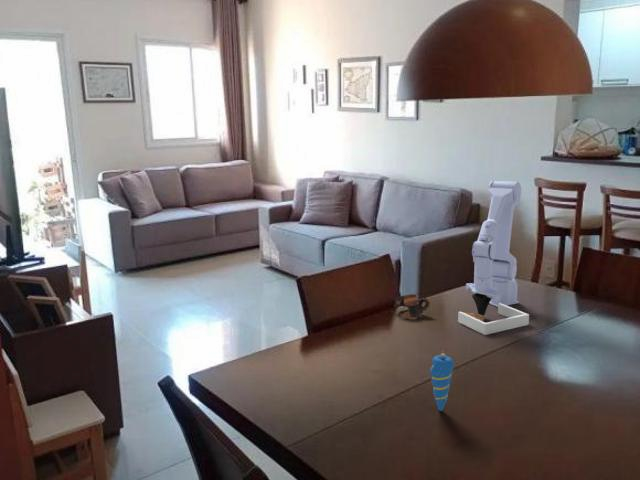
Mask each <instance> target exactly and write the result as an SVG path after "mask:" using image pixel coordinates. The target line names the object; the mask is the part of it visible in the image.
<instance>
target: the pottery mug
mask: <svg viewBox="0 0 640 480" xmlns="http://www.w3.org/2000/svg"><path fill="white" fill-rule="evenodd" d="M394 299H395V300H394V301H395V303H394V308H396V307H406V308H407V309H408V311H404V312H403V316H404V319H405V320H406V319H411V318H415V319H416V318H421V314H423V313H424V311H426V310H428V308H429V307H430V304H431V303H430V301H429V299H428V298H426V297H421V298H418V297H417V294H415V293H411V294H410V293H409V294H405V295H400V296H397V297H395V298H394ZM423 303H425V305H424V306H423Z"/></svg>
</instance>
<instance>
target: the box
mask: <svg viewBox="0 0 640 480" xmlns="http://www.w3.org/2000/svg"><path fill="white" fill-rule="evenodd" d="M457 313H458V314H457V316H458V317H457V322H458V323H460V324H461V325H464V326H465V327H468V328H470V329H472V330H474V331H476V332H478V333H480V334H482V335H484V336H486V335H491V334H495V333H500V332H504V331H507V330H512V329H515V328H516V329H517V328H521V327H524V326H525V327H526V326H528V325H529V323H530V321H529V320H530V314H529V313H526V312H523V311H521V310H518V309H517V308H513V307H512V306H510V305H504V304H502V303H499V304H498V307H497V314H498V315H501V316H503V317H505V318H501V319H496V320H492V321H488V322H484V320H483V321H480V320H478V319H476V318H474V317H472V316H470V315H467V314H465V313H466V312H462V311H458V312H457Z"/></svg>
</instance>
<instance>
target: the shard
mask: <svg viewBox="0 0 640 480" xmlns="http://www.w3.org/2000/svg"><path fill="white" fill-rule="evenodd" d="M464 313H465V314H467V315H470V316H472V317H474V318H476V319H478V320H480V321H483V322H484V320H485V315H480V314H478V313H471V312H464Z"/></svg>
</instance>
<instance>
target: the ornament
mask: <svg viewBox="0 0 640 480" xmlns="http://www.w3.org/2000/svg"><path fill="white" fill-rule="evenodd" d="M431 364H432V366H430V369H429V370H430V374H431V384H432V387H433V388H432V393H433V396H434V399H435V402H436V406H437V409H438V411H439V412H442V411H443V410H444V407H445V405H446V403H447V401H448V398H449V395H448V394H449V391H450V389H451V384H450V383H451V381H452V379H453V371H454V367H455V365H454V360H452V358H451V357H450V356H447V355H446V353H445V352H444V350H442V351H441V353H440V354H439V355H435V356H434V357H433V358H432V363H431Z"/></svg>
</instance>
